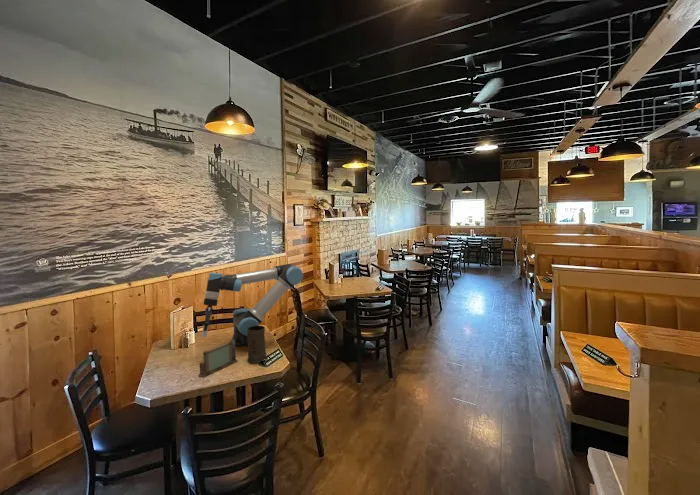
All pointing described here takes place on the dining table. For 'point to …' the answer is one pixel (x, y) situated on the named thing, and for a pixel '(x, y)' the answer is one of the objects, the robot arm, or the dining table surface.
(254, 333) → the beer stein
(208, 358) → the gate
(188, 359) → the dining table surface
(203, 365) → the gate frame
